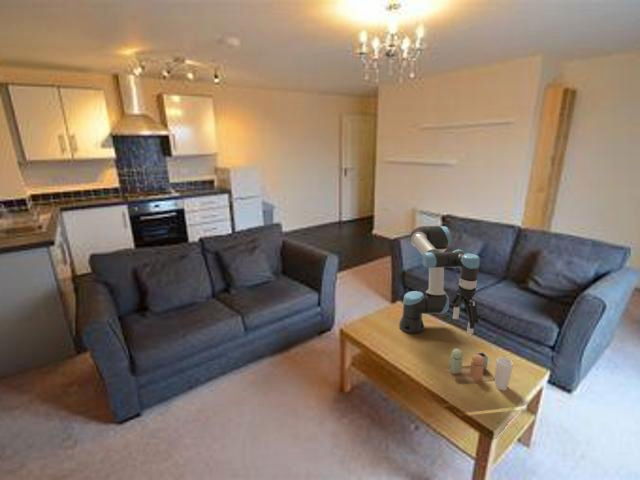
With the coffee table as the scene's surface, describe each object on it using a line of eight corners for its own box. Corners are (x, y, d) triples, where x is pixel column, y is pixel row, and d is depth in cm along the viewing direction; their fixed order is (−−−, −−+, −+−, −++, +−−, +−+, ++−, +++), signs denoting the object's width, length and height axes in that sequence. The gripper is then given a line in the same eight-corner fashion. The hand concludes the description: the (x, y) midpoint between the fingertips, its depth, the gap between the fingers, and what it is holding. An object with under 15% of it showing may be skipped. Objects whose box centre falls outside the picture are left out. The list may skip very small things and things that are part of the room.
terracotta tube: (469, 375, 167) (471, 361, 164) (477, 374, 167) (479, 360, 165) (474, 380, 163) (476, 366, 161) (481, 379, 163) (483, 365, 161)
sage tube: (449, 368, 172) (450, 355, 169) (456, 368, 172) (458, 354, 170) (453, 373, 168) (454, 360, 166) (460, 373, 168) (462, 359, 166)
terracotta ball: (469, 361, 165) (471, 352, 164) (479, 360, 166) (480, 352, 164) (475, 368, 160) (476, 359, 159) (485, 367, 161) (486, 358, 159)
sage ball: (449, 355, 170) (450, 346, 169) (458, 354, 171) (459, 346, 169) (454, 361, 165) (455, 352, 164) (463, 360, 166) (465, 352, 164)
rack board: (445, 369, 173) (445, 367, 172) (482, 366, 175) (482, 364, 175) (457, 386, 161) (458, 384, 161) (496, 382, 163) (497, 380, 163)
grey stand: (474, 366, 173) (476, 352, 171) (481, 365, 174) (483, 352, 171) (478, 371, 169) (480, 357, 167) (486, 370, 170) (488, 357, 168)
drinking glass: (489, 383, 162) (493, 357, 158) (503, 382, 163) (507, 356, 159) (497, 394, 156) (502, 366, 152) (511, 392, 156) (516, 365, 152)
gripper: (447, 276, 170) (443, 313, 176) (474, 299, 146) (468, 341, 153) (461, 275, 171) (456, 312, 177) (490, 297, 147) (484, 339, 153)
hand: (462, 325), depth 165 cm, fingers open, 13 cm apart
